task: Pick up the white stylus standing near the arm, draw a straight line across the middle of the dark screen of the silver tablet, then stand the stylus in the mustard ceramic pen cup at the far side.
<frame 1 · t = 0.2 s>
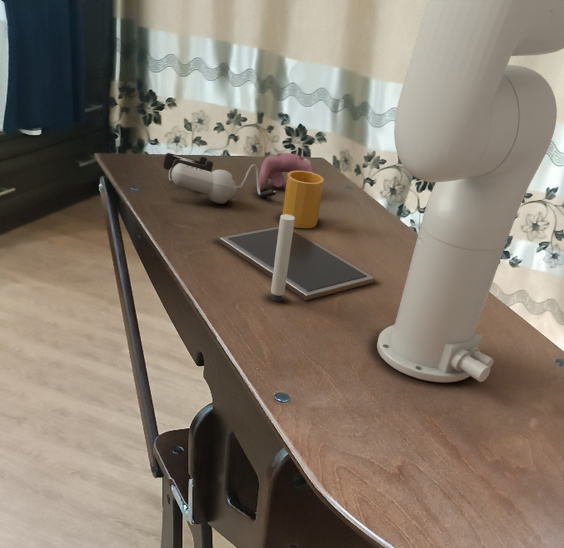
clip-on lamp: (219, 196, 121), on the table
pen cup: (299, 221, 117), on the table
stylus: (276, 299, 95), on the table
tablet: (295, 262, 104), on the table
video game controller: (285, 191, 127), on the table
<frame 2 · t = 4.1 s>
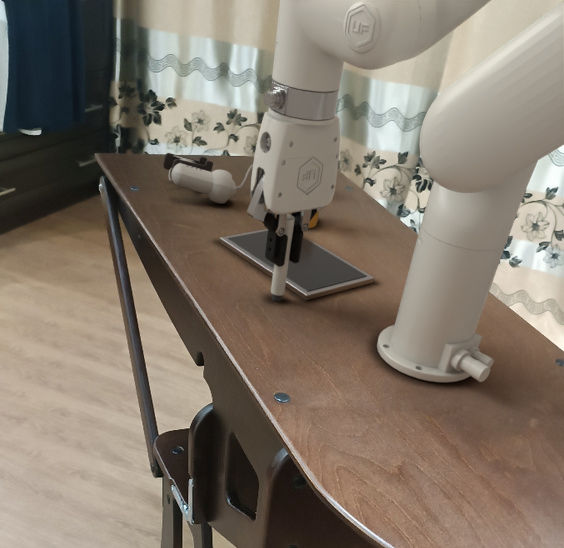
hand: (281, 259, 91), 6 cm above the table, tool pointing down, fingers closed on stylus, 1 cm apart
stylus: (276, 299, 95), on the table, touching gripper
everything else where it was.
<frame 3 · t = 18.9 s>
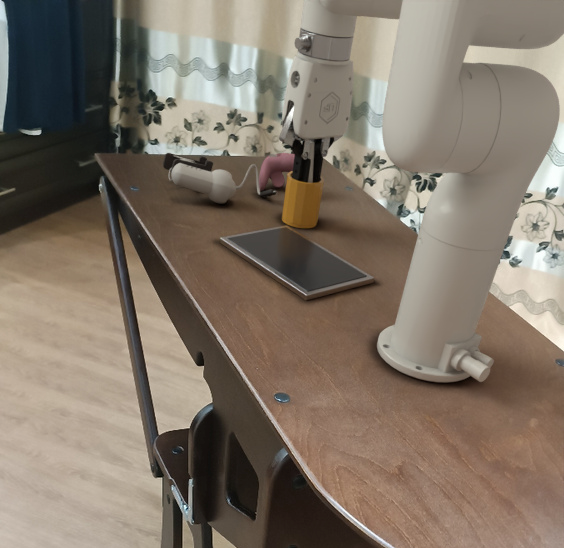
hand: (305, 181, 112), 6 cm above the table, tool pointing down, fingers closed on stylus, 1 cm apart
stylus: (305, 217, 115), point 1 cm above the table, tilted 10°, touching gripper
everything else where it was.
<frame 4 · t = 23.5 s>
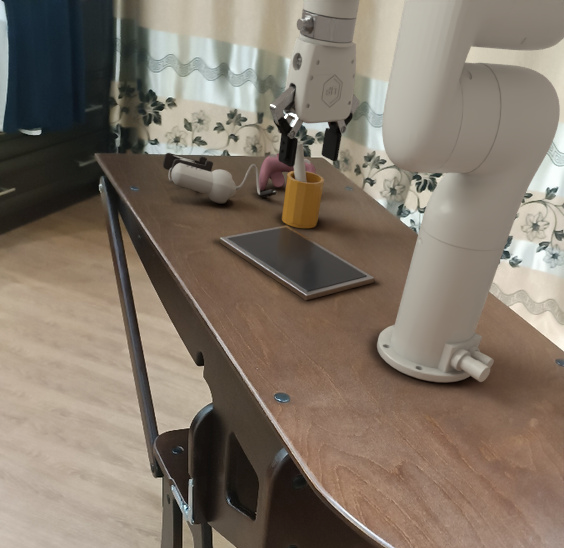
hand: (308, 160, 110), 9 cm above the table, tool pointing down, fingers open, 8 cm apart
stylus: (305, 219, 115), point 1 cm above the table, tilted 24°, touching pen cup
everything else where it was.
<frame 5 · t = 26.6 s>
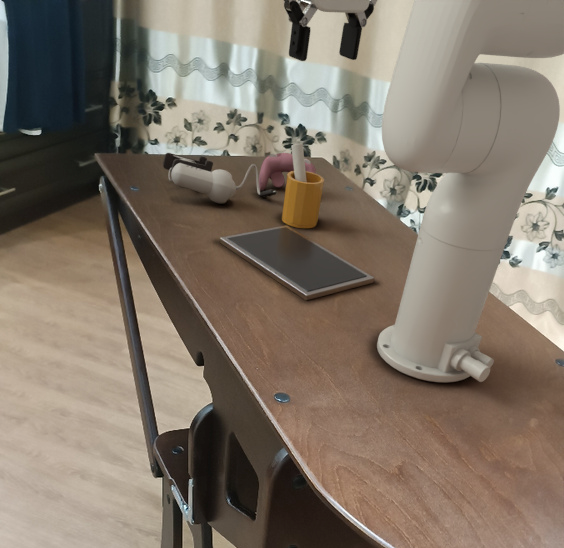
hand: (323, 58, 101), 23 cm above the table, tool pointing down, fingers open, 9 cm apart
nothing on the table moved.
at the end: stylus 1.3 cm off-centre in the pen cup, point 0.8 cm above the pen cup's base; stylus tilted 24°; the gripper is holding nothing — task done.
